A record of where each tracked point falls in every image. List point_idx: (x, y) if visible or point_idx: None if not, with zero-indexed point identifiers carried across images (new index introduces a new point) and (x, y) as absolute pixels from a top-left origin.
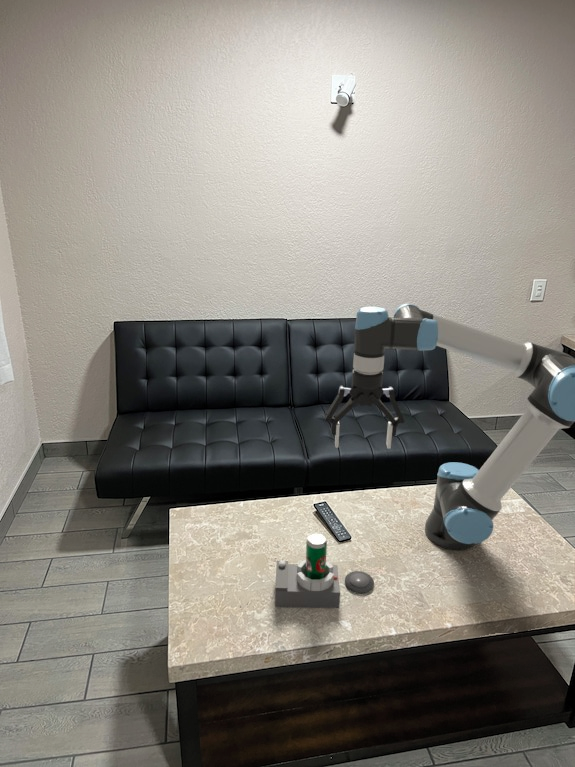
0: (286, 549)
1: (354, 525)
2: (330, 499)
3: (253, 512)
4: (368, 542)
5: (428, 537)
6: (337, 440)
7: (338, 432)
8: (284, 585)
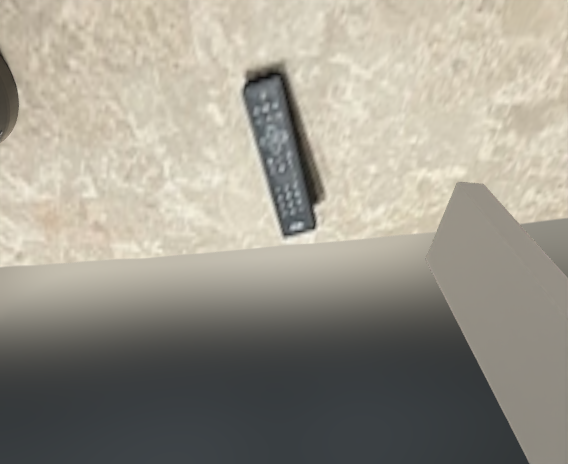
0: (437, 49)
1: (224, 140)
2: (269, 244)
3: None
4: (195, 61)
5: (5, 65)
6: (504, 227)
7: (559, 298)
8: None
